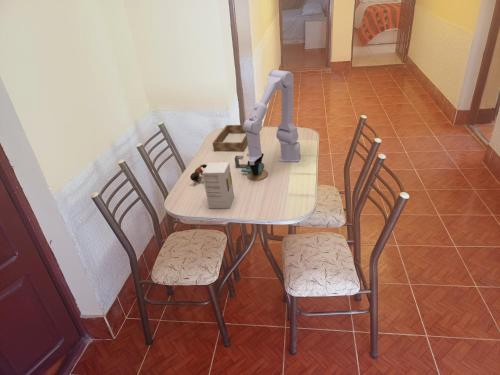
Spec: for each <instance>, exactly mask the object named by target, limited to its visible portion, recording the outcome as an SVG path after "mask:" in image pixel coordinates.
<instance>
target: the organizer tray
mask: <svg viewBox="0 0 500 375" xmlns="http://www.w3.org/2000/svg"><path fill="white" fill-rule="evenodd" d="M243 126H244V124H226V125H225V126H224V128H223V129H222V130H221V131H220V133H219V134H218V135H217V137H216V138H215V139H214V140H213V142H212V147H213V152H230V153H231V152H236V153H237V152H238V153H239V152H243V153H244V152H245V150H246V148H247V147H248V142H247V135H246V132H245V131H244V129H243ZM229 134H245V136H244V137H243V139H242V140H241V142H239V141H238V142H234V141H233V142H227V141H226V142H225V139H226V138H227V137H226V136H228V135H229Z"/></svg>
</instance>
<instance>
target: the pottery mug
mask: <svg viewBox="0 0 500 375" xmlns="http://www.w3.org/2000/svg"><path fill="white" fill-rule="evenodd" d="M206 166H207V164H205V163H204V164H200V165H199V166H198V167H196V168H195V170H194V172H193V173H191V174H190V180H192V181H193V182H195V183H199V178H200V176H202V177H203V175H202V173H203V171H204V170H203V169H205V168H206Z"/></svg>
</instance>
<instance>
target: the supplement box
mask: <svg viewBox="0 0 500 375" xmlns="http://www.w3.org/2000/svg"><path fill="white" fill-rule="evenodd" d="M206 165H207V166H206V168H204V170H203V173H202V175H203V176H202V175H201V176H202V180H203V184H204V189H205V194H206V199H207V205H208V209H231V206H232V204H233V201H234V199H235V194H234V185H233V181H232V180H233V179H232V173H231V165H230V162H228V161H227V162H225V161H224V162H222V161H221V162H207V164H206Z"/></svg>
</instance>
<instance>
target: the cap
mask: <svg viewBox="0 0 500 375" xmlns="http://www.w3.org/2000/svg"><path fill="white" fill-rule="evenodd" d="M261 163H262V162H261ZM261 163H260V164H259V169H258V175H259V174H261V173H262V168H261ZM250 169H251V168H250ZM250 169H246V168H241V169H240V172H241V173H251V174H252V175H253V173H252V170H250Z"/></svg>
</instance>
